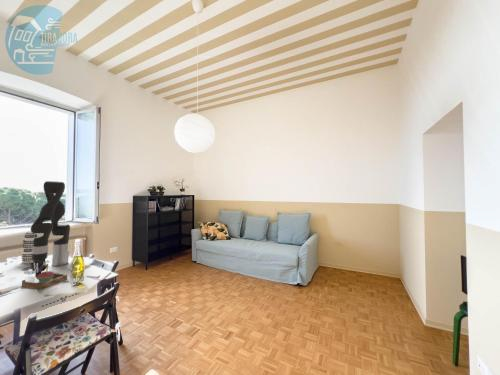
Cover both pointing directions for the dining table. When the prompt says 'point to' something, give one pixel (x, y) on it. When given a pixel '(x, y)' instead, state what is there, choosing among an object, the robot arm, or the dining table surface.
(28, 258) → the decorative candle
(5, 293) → the dining table surface
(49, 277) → the cupcake
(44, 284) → the walnut corral
